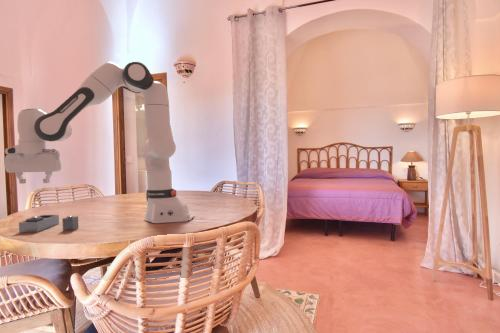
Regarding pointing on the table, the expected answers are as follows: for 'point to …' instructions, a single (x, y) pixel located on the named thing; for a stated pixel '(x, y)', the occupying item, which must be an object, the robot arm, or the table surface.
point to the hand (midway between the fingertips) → (34, 183)
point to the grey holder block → (39, 224)
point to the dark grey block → (70, 223)
